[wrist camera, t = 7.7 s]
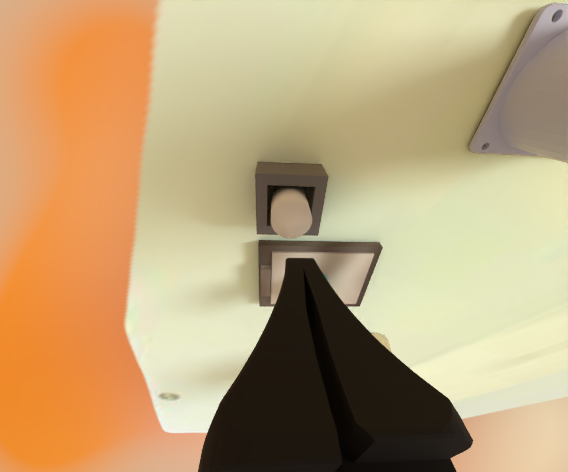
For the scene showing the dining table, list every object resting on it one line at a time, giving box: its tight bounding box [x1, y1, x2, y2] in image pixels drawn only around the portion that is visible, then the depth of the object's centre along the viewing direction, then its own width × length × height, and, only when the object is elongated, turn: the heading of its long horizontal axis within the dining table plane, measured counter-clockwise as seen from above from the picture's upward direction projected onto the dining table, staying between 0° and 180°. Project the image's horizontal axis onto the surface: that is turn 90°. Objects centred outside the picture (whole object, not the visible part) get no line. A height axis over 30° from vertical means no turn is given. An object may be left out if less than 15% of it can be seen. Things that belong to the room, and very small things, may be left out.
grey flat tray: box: [259, 240, 383, 306], centre depth 24 cm, size 12×9×1 cm
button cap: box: [271, 186, 312, 238], centre depth 16 cm, size 3×3×3 cm
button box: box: [255, 162, 328, 235], centre depth 18 cm, size 5×5×3 cm
